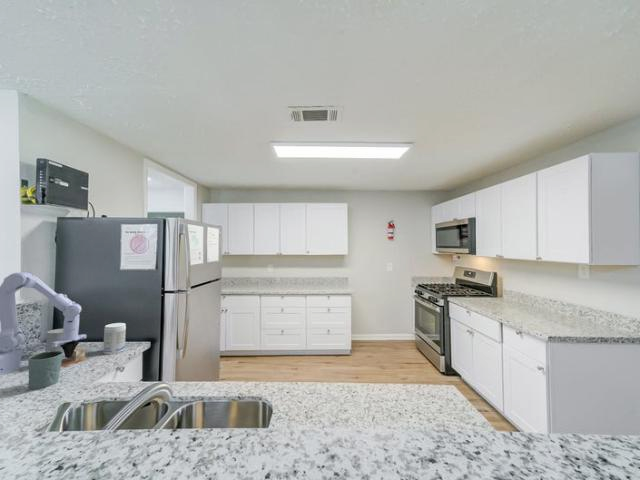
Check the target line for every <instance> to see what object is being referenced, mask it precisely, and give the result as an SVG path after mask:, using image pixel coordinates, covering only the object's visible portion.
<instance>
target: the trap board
mask: <svg viewBox="0 0 640 480" xmlns="http://www.w3.org/2000/svg"><path fill="white" fill-rule="evenodd" d="M88 359H90V357H86V356H85V358H82V359H79V360H76V361H73V360H68V358H62V361H61V367H63V368H67V367H69V366H72V365H76V364H78V363H82V362H83V361H86V360H88Z"/></svg>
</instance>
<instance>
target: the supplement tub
mask: <svg viewBox="0 0 640 480" xmlns="http://www.w3.org/2000/svg"><path fill="white" fill-rule="evenodd" d="M126 325H127V324H126V323H124V322H115V323H110V324H106V325H105V326H104V330H103V331H104V332H103V345H102V346H103V347H102V348H103V350H102V352H103V354H104V355H115V354H114V353H116V354H119V352H120V353H122V352H124V351H125V349H126V330H127V326H126ZM123 350H124V351H123ZM121 351H122V352H121Z"/></svg>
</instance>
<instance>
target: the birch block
mask: <svg viewBox="0 0 640 480" xmlns="http://www.w3.org/2000/svg"><path fill="white" fill-rule="evenodd" d="M85 357H86V348H83V347H76V348H75V350H74V352H73V354H72V357H70V358H68V360H73V361H76V360H79V359H82V358H85Z"/></svg>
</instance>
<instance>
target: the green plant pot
mask: <svg viewBox="0 0 640 480" xmlns="http://www.w3.org/2000/svg"><path fill="white" fill-rule="evenodd" d="M63 356H64V355H63V352H62V351H47V352H45V351H42V352H39V353H38V352H37V353H36V354H32V355H30V356H28V357H27V358H28V359H27V360H28V363H27V364H28V369H29V370H28V389H29V390H32V391H35V390H43V389H46V388H48V387H51V386H54V385H55V384H57V383H59V378H60V372H61V361H62V359H63Z"/></svg>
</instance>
